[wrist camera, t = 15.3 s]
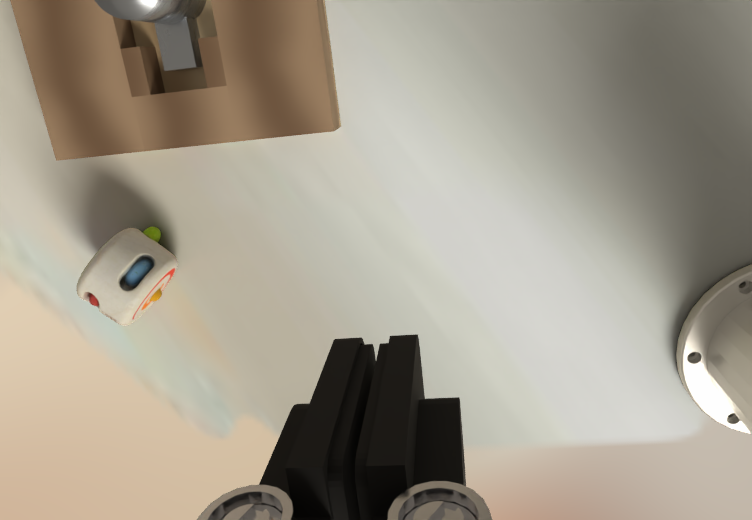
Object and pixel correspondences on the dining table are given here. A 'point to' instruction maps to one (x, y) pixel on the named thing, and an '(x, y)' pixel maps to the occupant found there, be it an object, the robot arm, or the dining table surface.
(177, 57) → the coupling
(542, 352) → the dining table surface
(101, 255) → the roller toy
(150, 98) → the socket plate
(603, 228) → the dining table surface
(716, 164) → the dining table surface
